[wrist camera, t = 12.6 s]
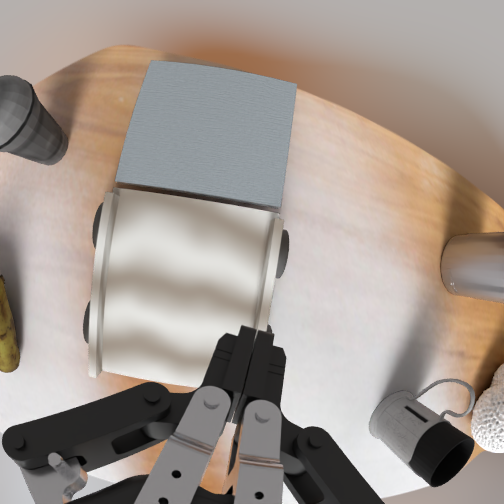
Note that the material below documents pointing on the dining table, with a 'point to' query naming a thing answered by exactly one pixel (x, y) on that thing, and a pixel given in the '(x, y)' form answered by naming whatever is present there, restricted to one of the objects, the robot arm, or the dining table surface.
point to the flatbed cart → (177, 282)
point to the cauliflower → (490, 415)
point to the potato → (7, 334)
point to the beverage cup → (28, 124)
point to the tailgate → (210, 133)
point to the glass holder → (423, 435)
